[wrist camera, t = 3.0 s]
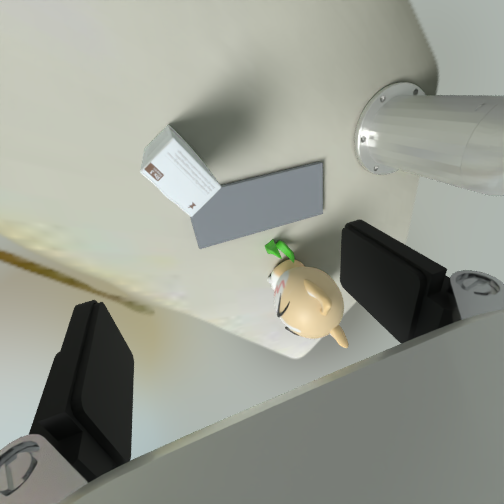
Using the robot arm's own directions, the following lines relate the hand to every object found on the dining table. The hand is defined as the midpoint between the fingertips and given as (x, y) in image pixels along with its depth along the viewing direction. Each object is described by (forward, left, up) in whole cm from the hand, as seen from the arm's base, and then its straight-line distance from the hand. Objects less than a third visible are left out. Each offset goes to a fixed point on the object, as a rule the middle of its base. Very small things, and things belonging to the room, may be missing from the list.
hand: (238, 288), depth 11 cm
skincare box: (0, 0, -29) cm, 29 cm away
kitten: (-13, +22, -29) cm, 38 cm away
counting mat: (-10, +9, -28) cm, 31 cm away
